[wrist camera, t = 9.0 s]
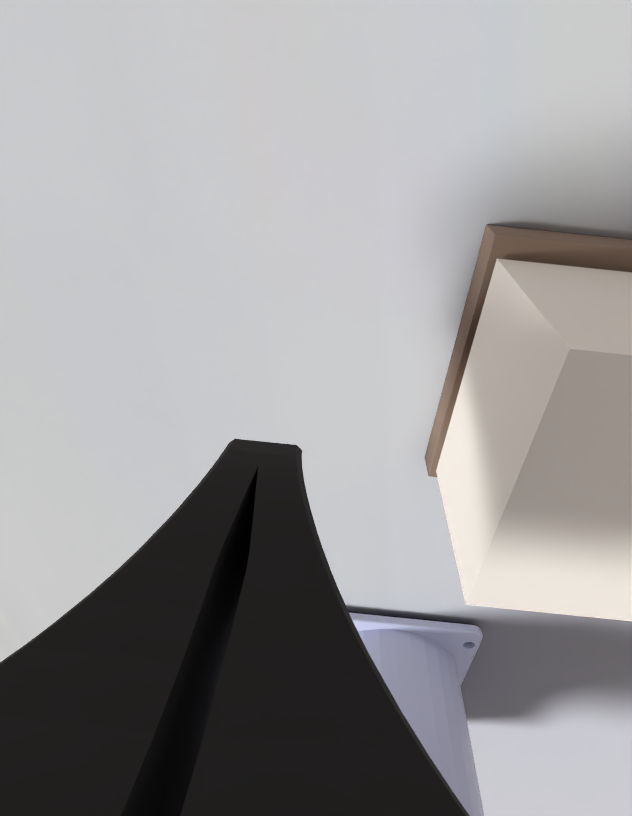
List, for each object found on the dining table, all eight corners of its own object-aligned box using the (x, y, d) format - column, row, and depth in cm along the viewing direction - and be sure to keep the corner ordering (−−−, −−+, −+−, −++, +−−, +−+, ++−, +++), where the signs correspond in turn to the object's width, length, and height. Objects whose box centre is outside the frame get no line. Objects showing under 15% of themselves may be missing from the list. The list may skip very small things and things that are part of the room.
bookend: (663, 493, 17) (770, 635, 12) (436, 470, 17) (466, 604, 12) (793, 288, 13) (1011, 394, 9) (496, 258, 13) (569, 349, 8)
